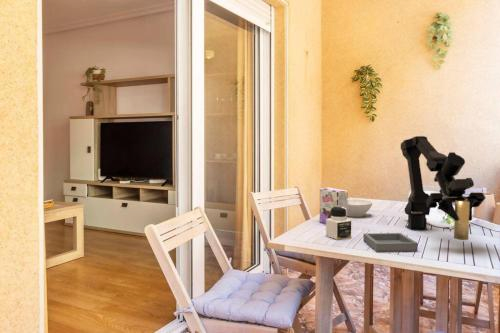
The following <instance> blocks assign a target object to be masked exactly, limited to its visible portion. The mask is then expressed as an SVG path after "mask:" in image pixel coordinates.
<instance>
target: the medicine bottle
mask: <svg viewBox="0 0 500 333" xmlns="http://www.w3.org/2000/svg"><path fill="white" fill-rule="evenodd" d="M346 211H347V209H346V208H344V207H333V208H331V218H329V219H326V224H325V226H326V227H325V236H326V237H328V238H330V237H331V239H333V238H334V239H333V240H336V239H337V241H340V240H346V239H351V238H352V220H351V219H349V218H347V219H346ZM339 239H340V240H339Z"/></svg>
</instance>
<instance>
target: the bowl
mask: <svg viewBox="0 0 500 333" xmlns="http://www.w3.org/2000/svg"><path fill="white" fill-rule="evenodd" d="M372 206H373V202H372V201H370V200H365V199H351V198H350V199H347V217H351V218H362V217H364V216H365V214H366V213H367V212H369V211H370V209H371V207H372Z"/></svg>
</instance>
